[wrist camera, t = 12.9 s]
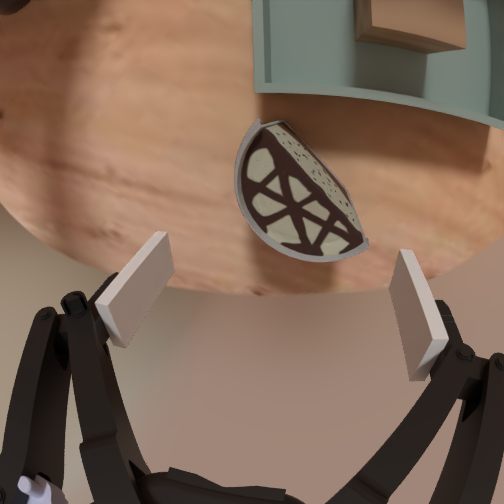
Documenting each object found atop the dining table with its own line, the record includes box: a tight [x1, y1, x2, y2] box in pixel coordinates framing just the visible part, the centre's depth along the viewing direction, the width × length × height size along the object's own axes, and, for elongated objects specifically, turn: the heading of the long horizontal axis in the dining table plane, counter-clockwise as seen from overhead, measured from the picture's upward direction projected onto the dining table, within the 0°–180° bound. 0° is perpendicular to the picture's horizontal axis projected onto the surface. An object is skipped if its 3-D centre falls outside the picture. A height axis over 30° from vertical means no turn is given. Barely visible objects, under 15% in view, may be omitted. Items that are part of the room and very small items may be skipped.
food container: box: [234, 117, 369, 262], centre depth 25 cm, size 12×6×10 cm, turn 45°
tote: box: [252, 0, 504, 130], centre depth 16 cm, size 24×20×5 cm
